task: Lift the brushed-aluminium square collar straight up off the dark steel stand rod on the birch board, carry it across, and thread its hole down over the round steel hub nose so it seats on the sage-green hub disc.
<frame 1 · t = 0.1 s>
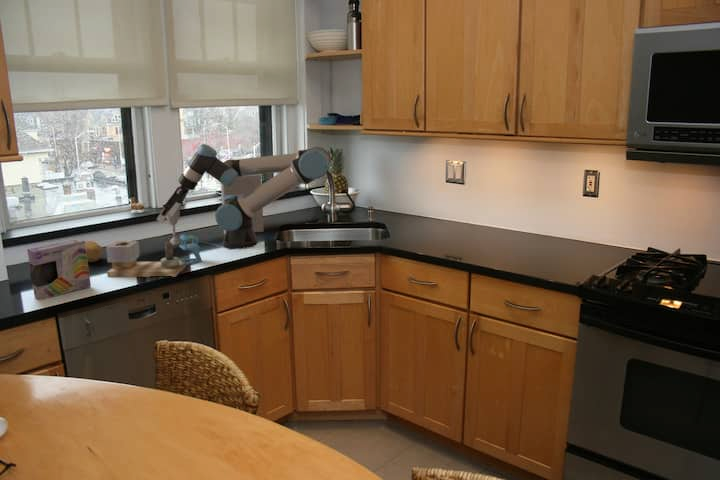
hand: (164, 217, 268), 15 cm above the table, tool tilted 35°, fingers open, 13 cm apart
collar: (124, 259, 243), point 5 cm above the table, touching board
chair: (191, 262, 256), on the table
potato: (91, 262, 259), on the table
cake pan box: (62, 293, 219), on the table
chalice: (175, 243, 288), on the table
cream rectangular carton: (241, 230, 313), on the table
board: (148, 271, 244), on the table
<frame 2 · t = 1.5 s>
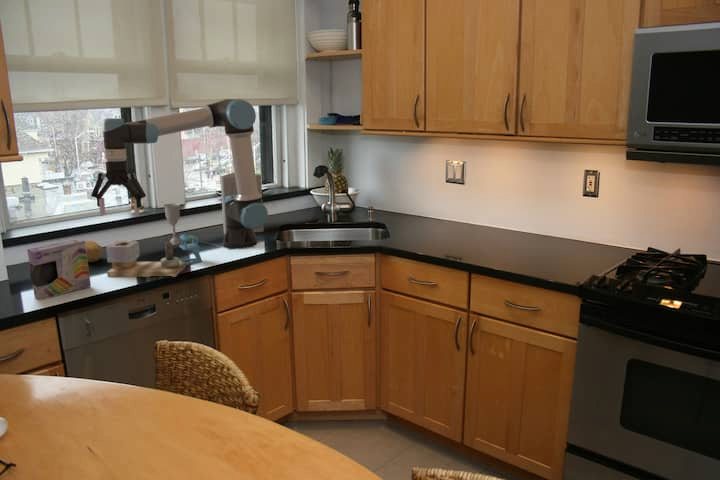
hand: (120, 215, 240), 22 cm above the table, tool pointing down, fingers open, 13 cm apart
nothing on the table moved.
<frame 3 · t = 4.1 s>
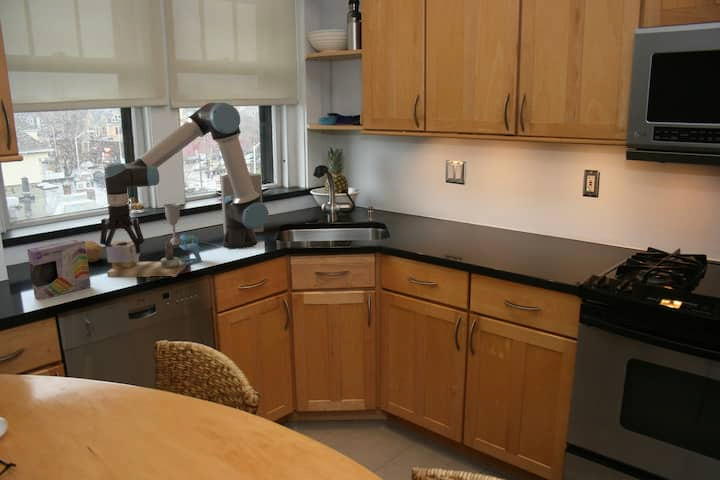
hand: (124, 261, 243), 4 cm above the table, tool pointing down, fingers closed on collar, 9 cm apart
collar: (124, 259, 243), point 5 cm above the table, touching board, gripper
everything else where it was.
when the fingers open (5 cm above the table, at t = 11.9 s): collar drops 1 cm, resting on board.
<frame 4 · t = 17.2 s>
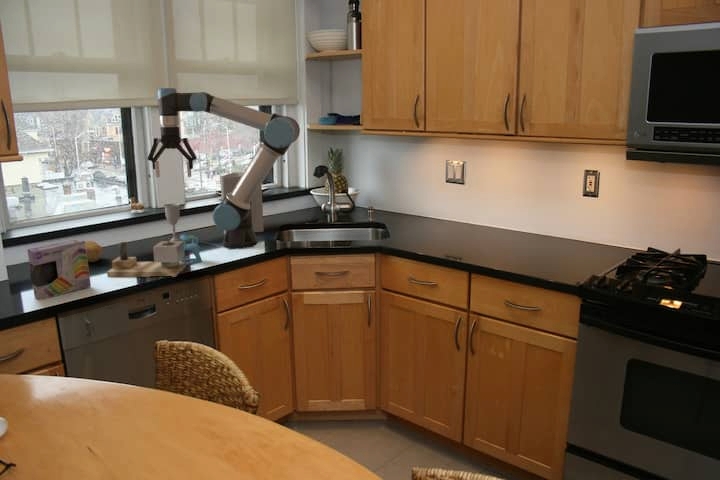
hand: (173, 177, 265), 33 cm above the table, tool pointing down, fingers open, 13 cm apart
collar: (169, 259, 242), point 5 cm above the table, touching board
everything else where it was.
at the end: collar 0.0 cm from the target spot on the board, point 5.0 cm above the board's base; collar tilted 0°; the gripper is holding nothing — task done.
